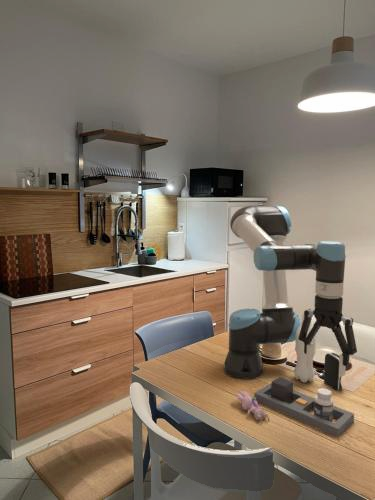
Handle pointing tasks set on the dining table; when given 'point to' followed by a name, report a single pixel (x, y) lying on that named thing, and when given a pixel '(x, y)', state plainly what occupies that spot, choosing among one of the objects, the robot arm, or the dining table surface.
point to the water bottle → (303, 357)
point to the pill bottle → (324, 404)
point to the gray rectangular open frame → (301, 406)
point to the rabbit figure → (251, 406)
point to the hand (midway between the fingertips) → (325, 369)
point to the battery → (332, 371)
